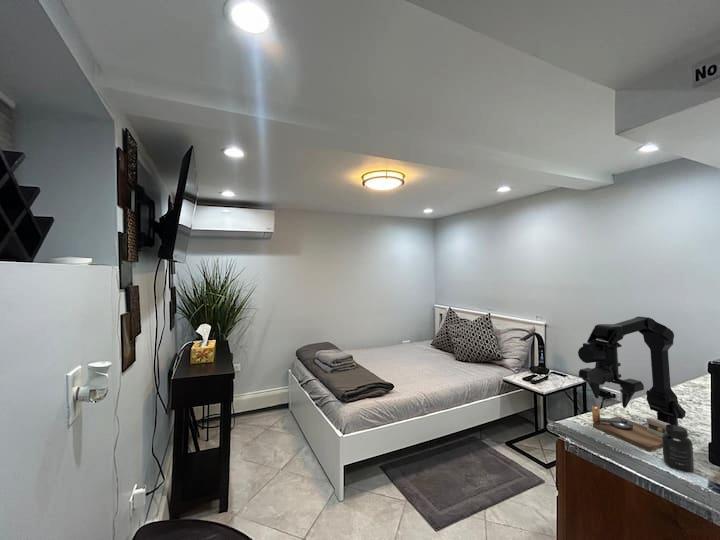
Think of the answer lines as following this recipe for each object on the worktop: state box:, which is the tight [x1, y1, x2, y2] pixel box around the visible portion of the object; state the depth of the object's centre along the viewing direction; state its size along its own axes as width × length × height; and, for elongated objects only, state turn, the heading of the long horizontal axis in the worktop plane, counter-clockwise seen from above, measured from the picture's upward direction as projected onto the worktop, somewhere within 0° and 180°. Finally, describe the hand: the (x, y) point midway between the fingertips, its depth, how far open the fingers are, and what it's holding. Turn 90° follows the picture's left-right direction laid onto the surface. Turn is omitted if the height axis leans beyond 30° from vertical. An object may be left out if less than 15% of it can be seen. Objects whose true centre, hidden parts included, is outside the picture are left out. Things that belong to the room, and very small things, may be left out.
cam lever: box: [591, 405, 633, 429], centre depth 123 cm, size 13×7×6 cm, turn 69°
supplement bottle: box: [662, 424, 695, 473], centre depth 99 cm, size 7×7×12 cm
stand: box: [592, 415, 669, 453], centre depth 119 cm, size 15×19×6 cm
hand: (610, 402), depth 115 cm, fingers open, 9 cm apart
